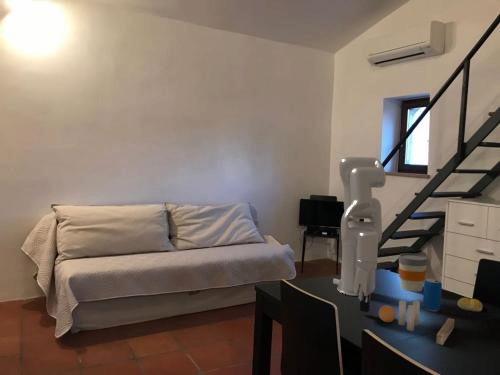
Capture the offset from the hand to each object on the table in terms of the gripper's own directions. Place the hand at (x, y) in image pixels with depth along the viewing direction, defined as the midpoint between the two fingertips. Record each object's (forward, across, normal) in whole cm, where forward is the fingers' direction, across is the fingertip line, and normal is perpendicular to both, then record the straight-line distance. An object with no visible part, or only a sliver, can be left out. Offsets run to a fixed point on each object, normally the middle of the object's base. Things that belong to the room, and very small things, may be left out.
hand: (364, 310), depth 166 cm
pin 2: (+2, -3, +18) cm, 18 cm away
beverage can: (+2, -23, +19) cm, 30 cm away
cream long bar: (+2, 0, +29) cm, 29 cm away
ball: (-1, +1, +9) cm, 9 cm away
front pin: (+2, 0, +14) cm, 14 cm away
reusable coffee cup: (+2, -45, +5) cm, 45 cm away
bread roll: (+2, -35, +31) cm, 47 cm away
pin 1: (+2, +3, +18) cm, 18 cm away
